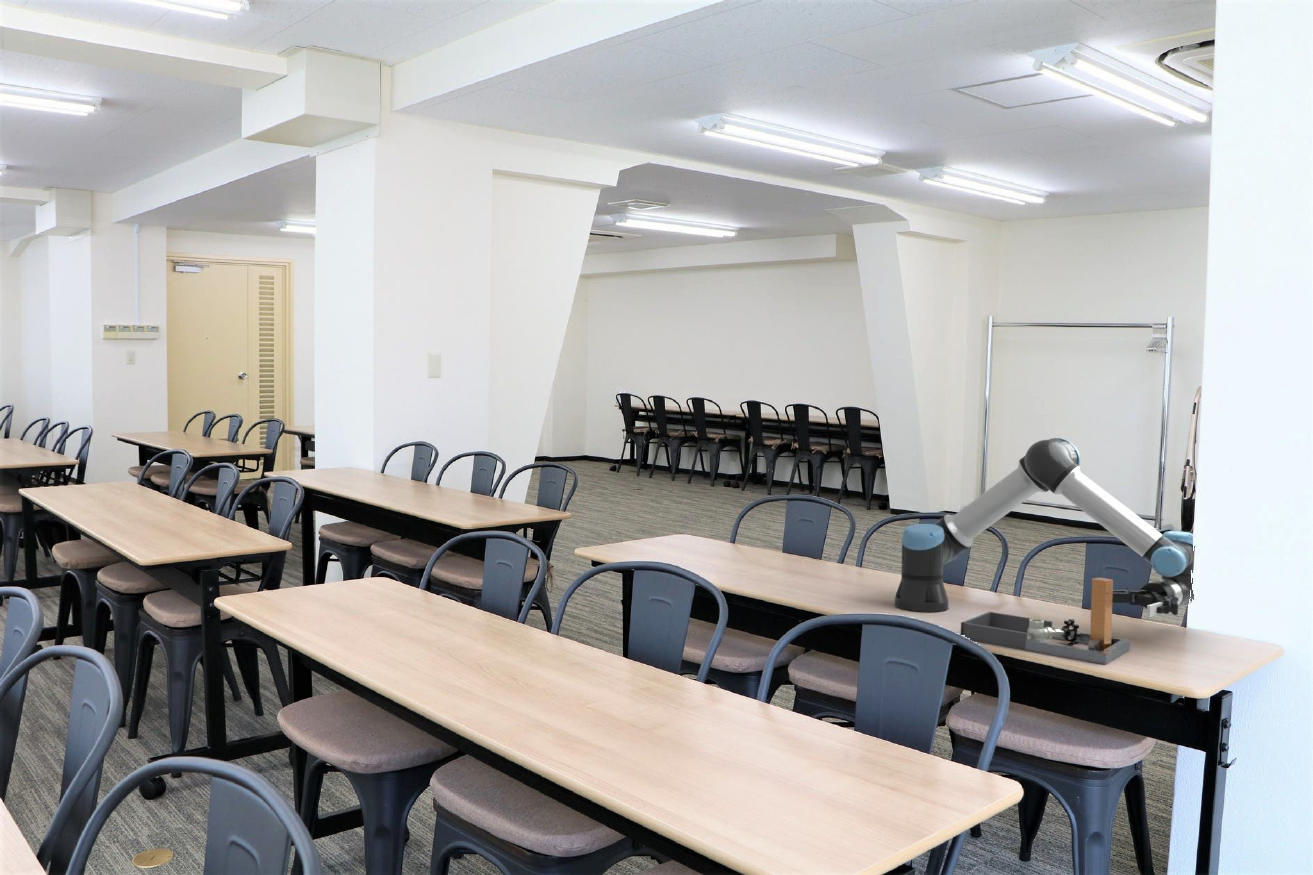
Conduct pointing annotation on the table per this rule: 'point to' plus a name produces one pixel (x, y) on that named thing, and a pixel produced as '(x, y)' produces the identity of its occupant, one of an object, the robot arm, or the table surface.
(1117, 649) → the slot rails
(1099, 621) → the brown wooden block
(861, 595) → the table surface
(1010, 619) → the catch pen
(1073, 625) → the valve
